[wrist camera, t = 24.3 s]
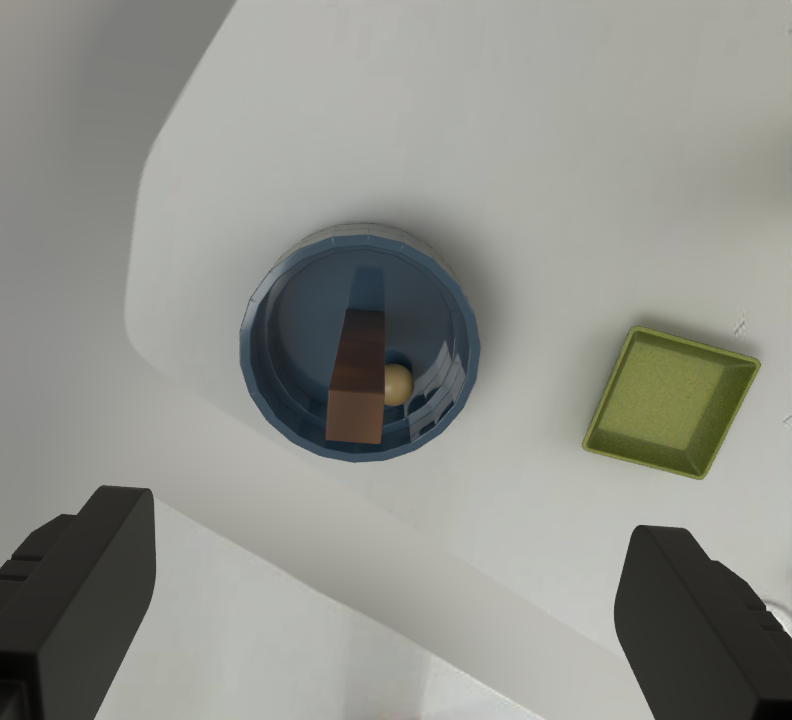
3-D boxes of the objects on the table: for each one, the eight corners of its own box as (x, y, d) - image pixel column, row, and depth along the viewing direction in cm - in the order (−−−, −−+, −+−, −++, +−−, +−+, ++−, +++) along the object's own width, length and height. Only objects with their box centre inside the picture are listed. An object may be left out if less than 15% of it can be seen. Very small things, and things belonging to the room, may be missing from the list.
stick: (342, 345, 41) (324, 440, 28) (345, 308, 40) (328, 389, 27) (381, 349, 41) (380, 445, 28) (384, 312, 40) (385, 394, 28)
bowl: (215, 348, 41) (193, 378, 36) (339, 174, 38) (332, 181, 33) (382, 460, 44) (382, 502, 39) (511, 307, 41) (529, 332, 36)
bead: (367, 405, 39) (380, 410, 41) (410, 401, 38) (419, 406, 41) (365, 362, 39) (377, 369, 42) (407, 357, 39) (417, 365, 41)
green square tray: (571, 435, 44) (579, 450, 42) (620, 314, 41) (633, 324, 39) (689, 466, 45) (703, 481, 43) (746, 350, 42) (764, 361, 40)
